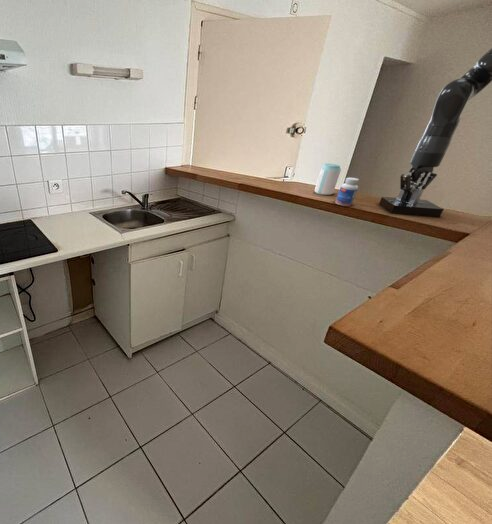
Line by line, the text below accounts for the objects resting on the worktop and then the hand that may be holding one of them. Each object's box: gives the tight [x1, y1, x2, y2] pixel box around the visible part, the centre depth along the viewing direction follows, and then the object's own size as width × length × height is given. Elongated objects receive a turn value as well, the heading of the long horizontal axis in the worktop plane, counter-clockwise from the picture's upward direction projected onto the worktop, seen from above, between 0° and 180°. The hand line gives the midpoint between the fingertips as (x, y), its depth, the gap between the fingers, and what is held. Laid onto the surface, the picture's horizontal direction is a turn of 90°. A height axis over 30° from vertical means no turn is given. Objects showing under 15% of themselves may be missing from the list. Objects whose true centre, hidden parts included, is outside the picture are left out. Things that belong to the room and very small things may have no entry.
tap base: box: [378, 196, 445, 219], centre depth 102 cm, size 14×11×3 cm
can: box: [314, 163, 342, 196], centre depth 119 cm, size 7×7×12 cm
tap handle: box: [396, 188, 425, 205], centre depth 100 cm, size 6×2×5 cm, turn 14°
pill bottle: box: [334, 177, 360, 207], centre depth 107 cm, size 6×5×10 cm
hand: (406, 201), depth 101 cm, fingers closed on tap handle, 2 cm apart
